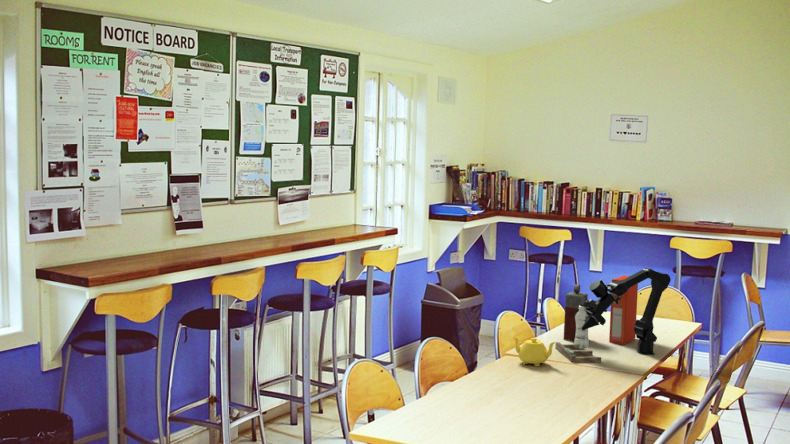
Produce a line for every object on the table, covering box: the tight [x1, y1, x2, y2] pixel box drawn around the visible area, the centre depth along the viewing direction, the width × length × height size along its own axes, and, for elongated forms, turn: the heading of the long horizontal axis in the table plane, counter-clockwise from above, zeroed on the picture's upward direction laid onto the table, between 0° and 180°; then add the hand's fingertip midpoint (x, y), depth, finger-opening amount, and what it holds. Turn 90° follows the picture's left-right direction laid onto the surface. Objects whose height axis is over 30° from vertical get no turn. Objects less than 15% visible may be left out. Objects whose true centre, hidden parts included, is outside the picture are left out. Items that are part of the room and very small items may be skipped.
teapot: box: [512, 335, 557, 367], centre depth 346 cm, size 20×15×12 cm
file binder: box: [608, 275, 639, 346], centre depth 393 cm, size 8×17×32 cm, turn 146°
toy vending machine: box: [563, 283, 589, 342], centre depth 393 cm, size 9×11×28 cm
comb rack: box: [554, 341, 602, 363], centre depth 362 cm, size 14×24×4 cm, turn 5°
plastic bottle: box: [573, 305, 590, 350], centre depth 360 cm, size 6×7×20 cm
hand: (579, 327), depth 360 cm, fingers closed on plastic bottle, 6 cm apart
